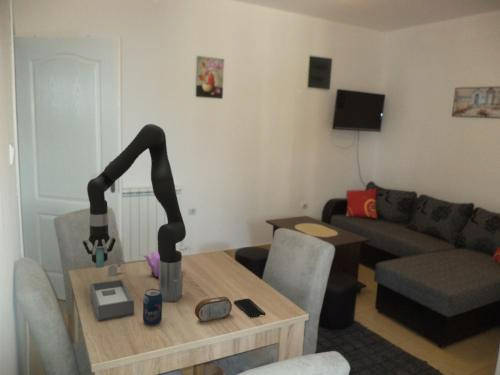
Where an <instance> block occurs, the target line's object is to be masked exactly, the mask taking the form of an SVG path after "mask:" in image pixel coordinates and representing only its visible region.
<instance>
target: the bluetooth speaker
mask: <svg viewBox="0 0 500 375" xmlns="http://www.w3.org/2000/svg"><path fill="white" fill-rule="evenodd" d="M232 307H233V304H232V302H231V300H230V299H229V298H228V297H227V296H217V297H212V298H206V299H202V300H200V301H199V302H198V303H197V304H196V306H195V308H194V314H195V317H196V318H197V319H198V320H199V321H200V322H210V321H215V320H220V319H224V318H226V317H228V316H229V315H230V314H231V311H232Z"/></svg>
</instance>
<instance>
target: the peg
mask: <svg viewBox="0 0 500 375" xmlns="http://www.w3.org/2000/svg"><path fill="white" fill-rule="evenodd" d="M95 255H96V263H94V266H95V268H99V269H100V268H103V267H105V262H104V249H103V247H101V246H99V247H97V249H96V252H95Z"/></svg>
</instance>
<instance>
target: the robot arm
mask: <svg viewBox="0 0 500 375" xmlns="http://www.w3.org/2000/svg"><path fill="white" fill-rule="evenodd" d="M165 132H166V131H164V129H163V128H162V127H160V126H159V125H156V124H154V123H149V124H145V125H144V126H143V127H142V128H141V129H140V130H139V131H138V133H137V134H136V136H135V137H134V138H133V139H132V140H131V142H130V143H129V144H128V145H127V146H125V147H126V148H124V150H122V152H121V153H119V155H117V156H116V157H115V158H114V159H113V160H112V161H111V162H109V163H108V165H106V166H105V167H104V169H103V171H101V173H100V174H98V175H97V176H96V177H93V178H91V179H90V180H89V181H88V183H87V185H86V186H87V187H86V191H87V193H86V194H87V197H88V202H89V237H88V238H87V239H86V240H82V241H81V242H82V245H83V246H84V249H85V250H86V253H87V254H88V255H91V261H92V263H94V264H95V263H96V255H95V252H96V249H97V248H98V247H103V249H104V263H105V262H107V261H108V257H109V256H108V253H110V252H112V251H113V248H114V245H115V244H116V241H117V238H115V237H113V236H112V237H111V236H110V235H109V222H110V221H109V214H108V213H109V212H108V201H107V200H106V198H105V192H106V191H108V189H109V188H111V186H113V184H114V183H115V182H116V181H118V179H120V178H121V177H122V176H123V175H124V174H125V173H127V172H128V170H129V169H130V168H131V167H132V165H134V163H135V161H137V159H138V158H139V157H140V156H141V155H142V154H143V153H144V152H145V151H146V150H148V152H149V155H150V159H151V160H150V161H151V162H150V163H151V164H150V165H151V166H150V182H151V187H152V190H153V195H154V197H155V198H156V200H157V201H158V203H159V204H160V206H162V208H163V210H164V212H165V215H166V220H167V223H165V224H162V225H161V226H160V227H159V228H158V231H157V251H158V253H159V256H160V264H159V278H158V290H160V291H161V294H162V302H169V303H170V302H175V303H176V302H177V301H178V300H179V299H181V298H182V297H183V284H184V283H183V282H184V281H183V280H184V279H183V278H184V277H183V275H182V260H183V256H182V252H181V251H179V250H177V247H176V246H177V245H176V244H178V243H181V242H182V241H184V240H185V238H186V236H187V230H186V225H185V222H184V219H183V216H182V212H181V209H180V205H179V200H178V197H177V192H176V186H175V181H174V176H173V171H172V168H171V164H170V160H169V156H168V147H167V139H166V138H167V137H166V133H165ZM89 242H90V243H91V245H92V248H91V250H90V247H89ZM108 242H110V243H109V244H108V245H109V246H108V247H107V243H108Z"/></svg>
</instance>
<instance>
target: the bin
mask: <svg viewBox="0 0 500 375" xmlns="http://www.w3.org/2000/svg"><path fill="white" fill-rule="evenodd" d="M90 298H91V299H90V300H91V302H92V306H93V309H94V314H95V316H96V319H97V321H98V322H102V321H109V320H112V319H113V320H114V319H119V318H122V317H123V318H125V317H130V316H134V315H135V314H134V311H135V307H134V306H135V303H134V302H135V300H134V298H133V296H132V294H131V292H130V290H129V289H128V287H127V285H126V283H125V281H124V279H114V280H108V281H107V280H106V281H101V282H93V283H90Z"/></svg>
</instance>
